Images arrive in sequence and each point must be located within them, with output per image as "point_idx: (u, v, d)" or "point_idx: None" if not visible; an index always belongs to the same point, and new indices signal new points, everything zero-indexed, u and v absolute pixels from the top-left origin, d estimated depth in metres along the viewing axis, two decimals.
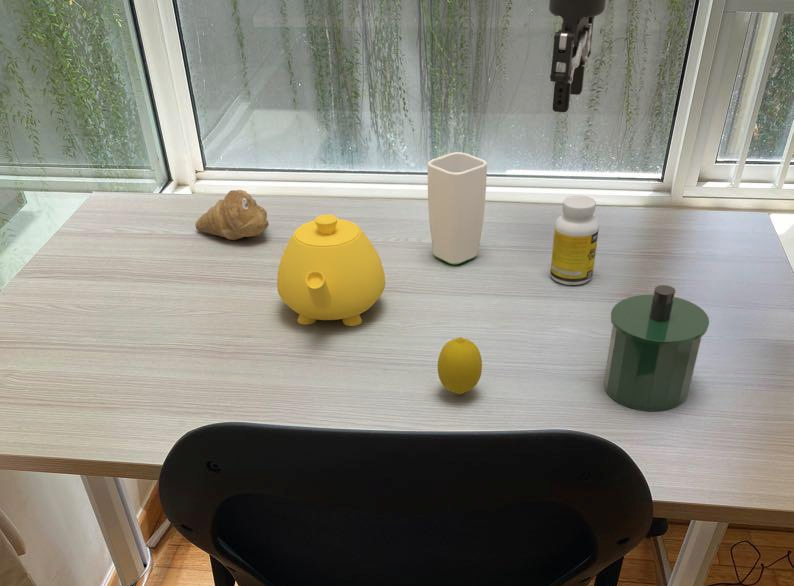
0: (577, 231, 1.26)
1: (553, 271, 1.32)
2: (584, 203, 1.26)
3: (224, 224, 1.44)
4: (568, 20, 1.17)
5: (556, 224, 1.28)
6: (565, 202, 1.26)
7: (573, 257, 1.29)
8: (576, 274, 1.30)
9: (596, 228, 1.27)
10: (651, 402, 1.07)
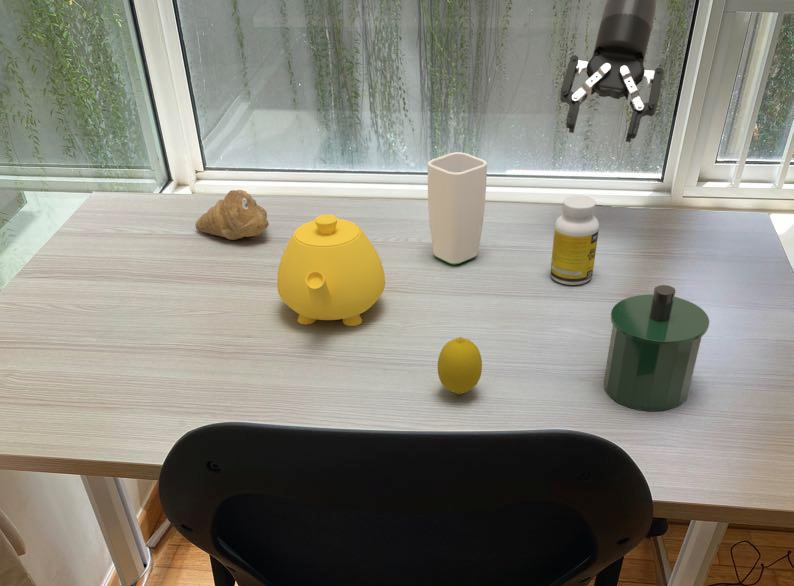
0: (577, 231, 1.26)
1: (553, 271, 1.32)
2: (584, 203, 1.26)
3: (224, 224, 1.44)
4: None
5: (556, 224, 1.28)
6: (565, 202, 1.26)
7: (573, 257, 1.29)
8: (576, 274, 1.30)
9: (596, 228, 1.27)
10: (651, 402, 1.07)
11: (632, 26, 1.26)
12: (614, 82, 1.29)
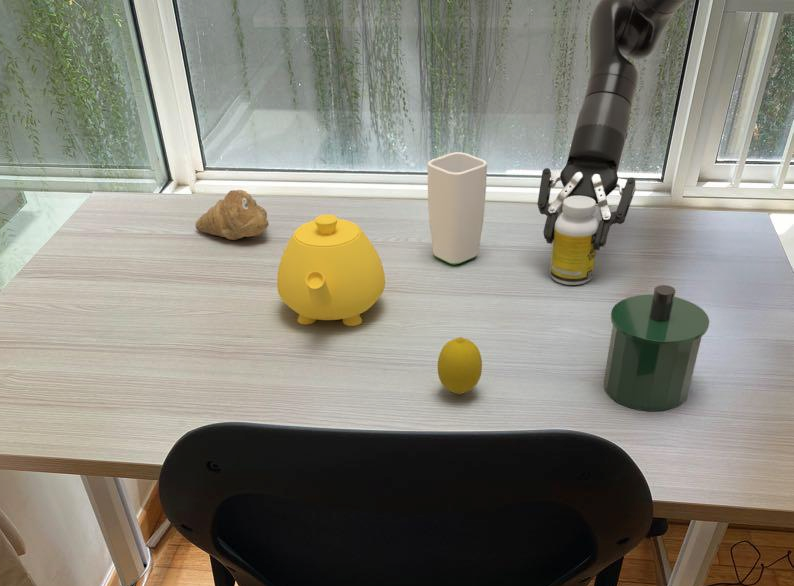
0: (577, 231, 1.26)
1: (553, 271, 1.32)
2: (584, 203, 1.26)
3: (224, 224, 1.44)
4: None
5: (556, 224, 1.28)
6: (565, 202, 1.26)
7: (573, 257, 1.29)
8: (576, 274, 1.30)
9: (596, 228, 1.27)
10: (651, 402, 1.07)
11: (602, 136, 1.25)
12: (587, 190, 1.28)
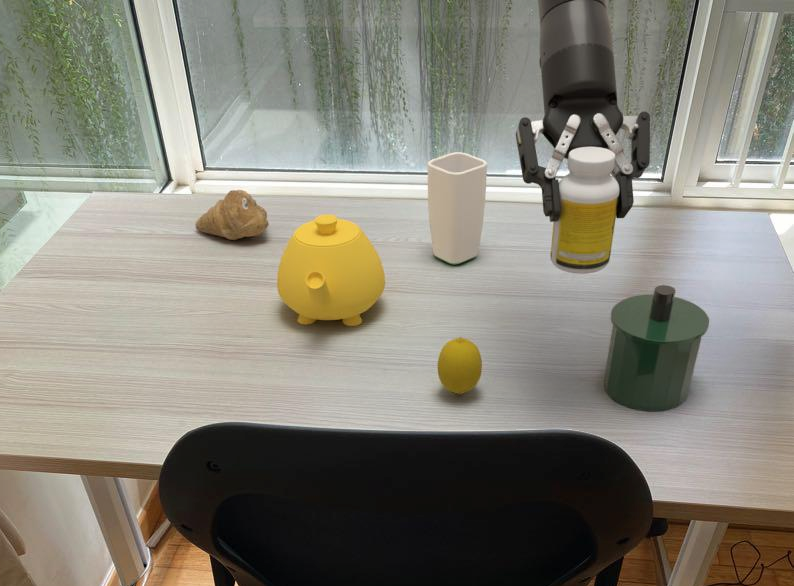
0: (602, 195, 0.88)
1: (563, 259, 0.94)
2: (600, 155, 0.88)
3: (224, 224, 1.44)
4: (545, 110, 0.92)
5: (565, 192, 0.90)
6: (575, 158, 0.88)
7: (597, 233, 0.91)
8: (599, 256, 0.93)
9: None
10: (651, 402, 1.07)
11: (597, 59, 0.88)
12: (589, 138, 0.91)
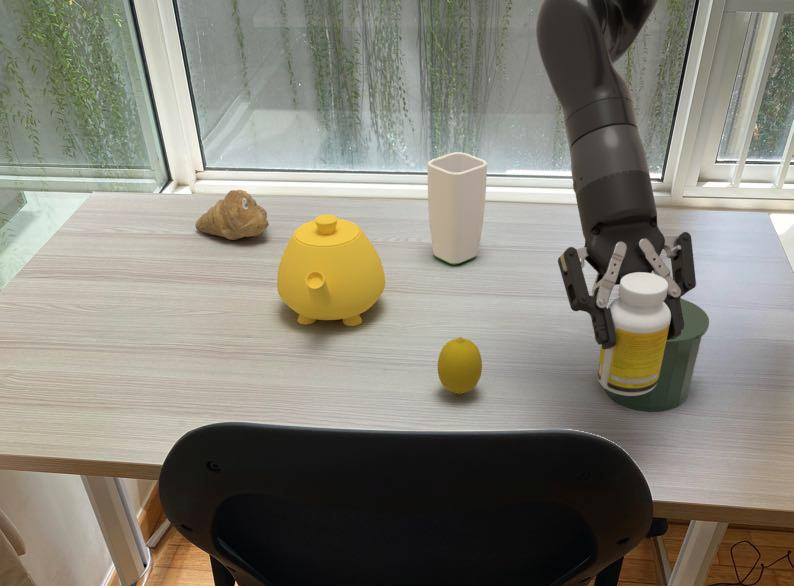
0: (658, 324, 0.87)
1: (616, 384, 0.92)
2: (653, 283, 0.87)
3: (224, 224, 1.44)
4: (586, 236, 0.90)
5: (620, 321, 0.88)
6: (630, 289, 0.86)
7: (652, 358, 0.90)
8: (652, 378, 0.92)
9: None
10: (651, 402, 1.07)
11: (639, 185, 0.87)
12: (635, 263, 0.89)
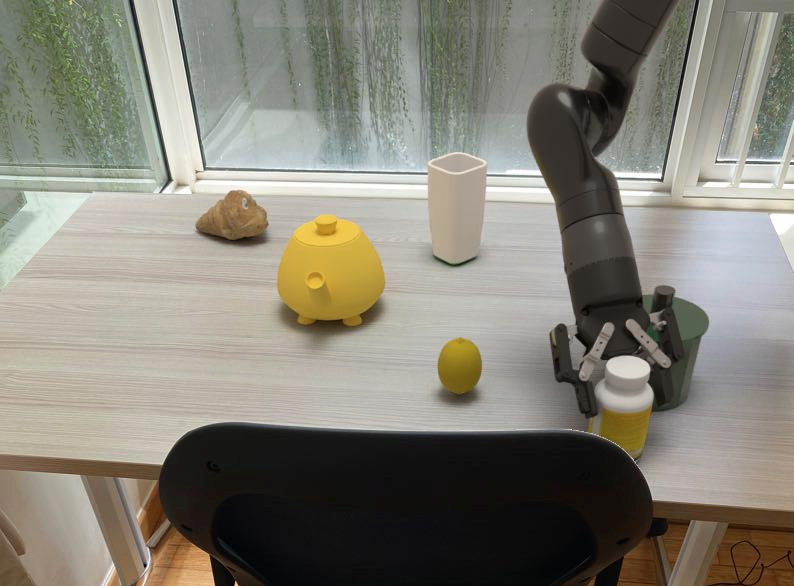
0: (641, 405, 0.94)
1: None
2: (637, 367, 0.93)
3: (224, 224, 1.44)
4: (576, 315, 0.96)
5: (606, 402, 0.94)
6: (615, 373, 0.93)
7: (636, 435, 0.96)
8: (637, 452, 0.98)
9: (652, 392, 0.96)
10: None
11: (625, 271, 0.93)
12: (622, 342, 0.95)
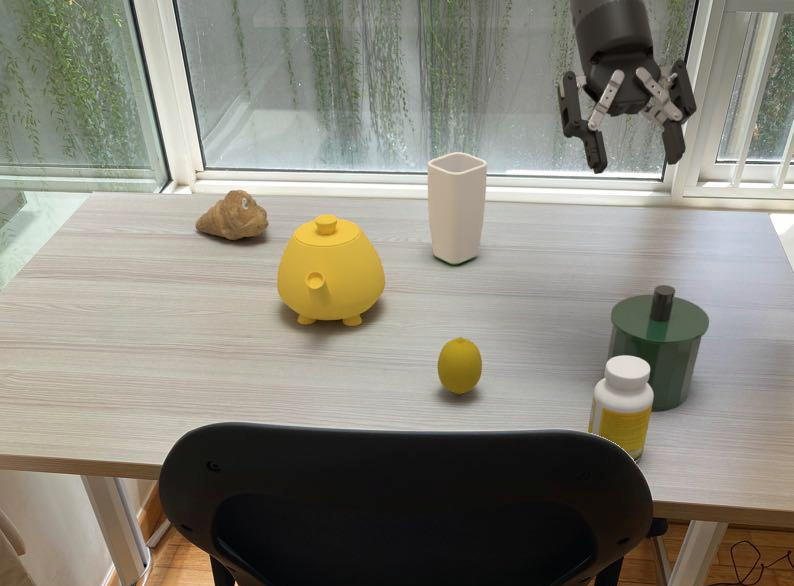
0: (641, 405, 0.94)
1: None
2: (636, 367, 0.93)
3: (224, 224, 1.44)
4: (585, 68, 0.93)
5: (606, 402, 0.94)
6: (615, 373, 0.93)
7: (636, 435, 0.96)
8: (637, 452, 0.98)
9: (652, 391, 0.96)
10: None
11: (636, 13, 0.90)
12: (632, 93, 0.92)
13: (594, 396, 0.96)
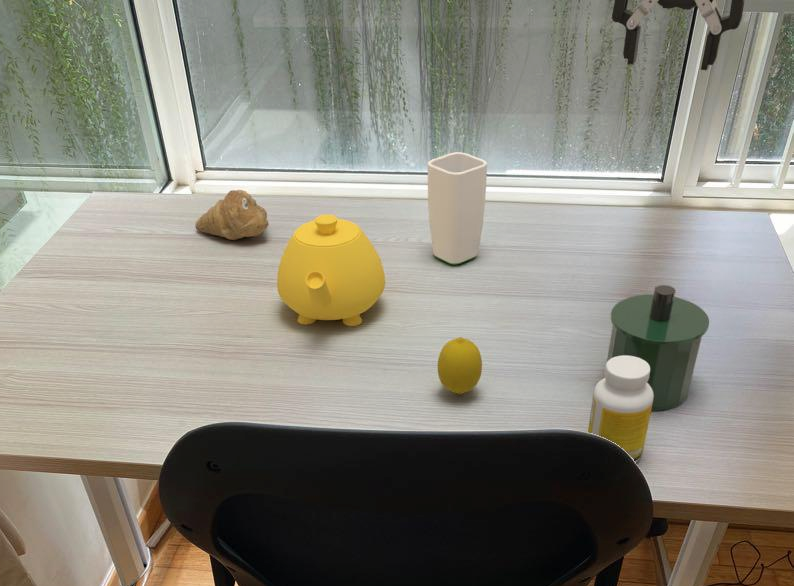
0: (641, 405, 0.94)
1: None
2: (636, 367, 0.93)
3: (224, 224, 1.44)
4: None
5: (606, 402, 0.94)
6: (615, 373, 0.93)
7: (636, 435, 0.96)
8: (637, 452, 0.98)
9: (652, 391, 0.96)
10: None
11: None
12: None
13: (594, 396, 0.96)
